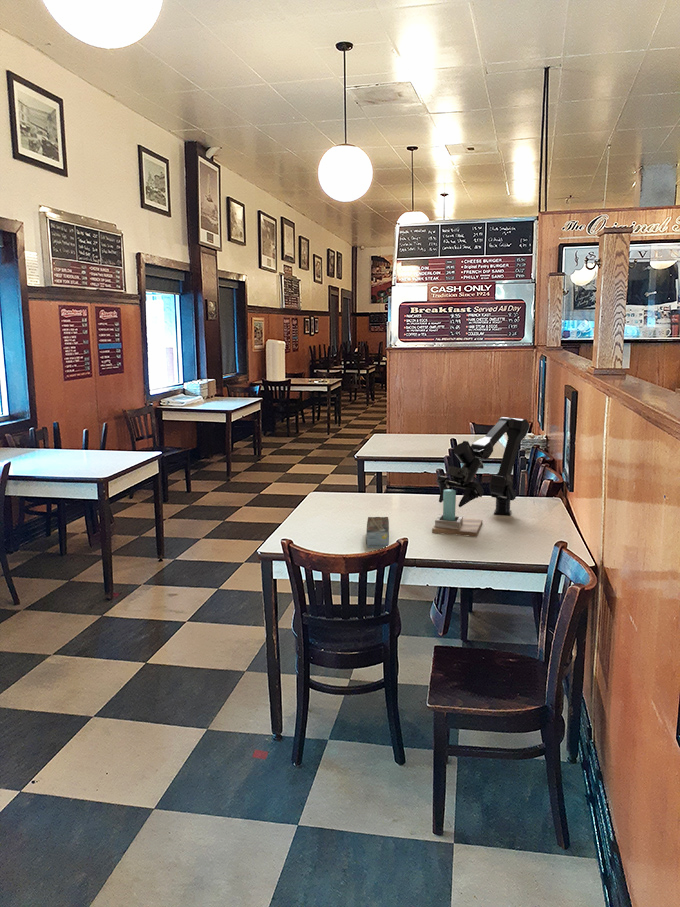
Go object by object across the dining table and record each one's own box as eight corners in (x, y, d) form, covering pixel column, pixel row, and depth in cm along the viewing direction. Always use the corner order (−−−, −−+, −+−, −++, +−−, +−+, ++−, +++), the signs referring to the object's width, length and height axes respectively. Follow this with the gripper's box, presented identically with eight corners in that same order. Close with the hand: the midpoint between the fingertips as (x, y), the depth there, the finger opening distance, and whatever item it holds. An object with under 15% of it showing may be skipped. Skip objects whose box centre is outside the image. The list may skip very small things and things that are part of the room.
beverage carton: (365, 548, 238) (365, 529, 236) (367, 532, 256) (367, 515, 255) (389, 549, 237) (389, 530, 236) (389, 533, 256) (389, 515, 255)
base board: (440, 520, 272) (440, 510, 271) (482, 523, 267) (482, 513, 266) (432, 532, 255) (432, 522, 254) (476, 536, 250) (476, 525, 249)
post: (452, 522, 262) (453, 489, 260) (456, 526, 258) (457, 491, 256) (441, 523, 262) (441, 489, 259) (445, 526, 257) (446, 492, 255)
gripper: (440, 454, 266) (420, 487, 260) (479, 461, 252) (459, 496, 247) (452, 472, 272) (433, 504, 267) (492, 479, 259) (473, 513, 253)
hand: (449, 504), depth 258 cm, fingers open, 9 cm apart
